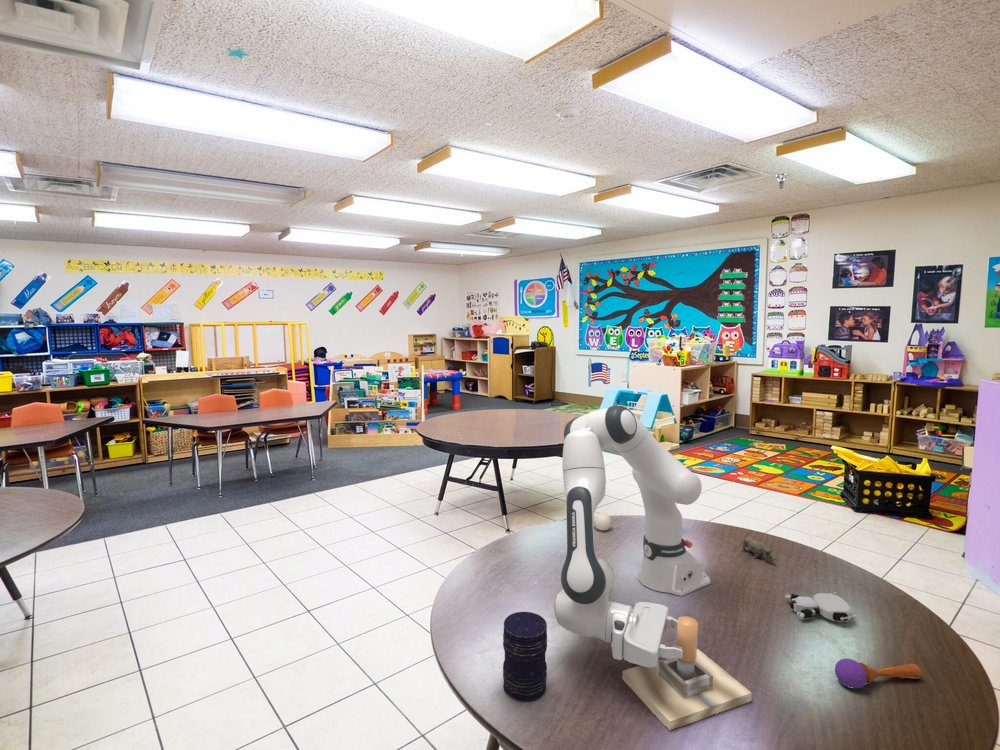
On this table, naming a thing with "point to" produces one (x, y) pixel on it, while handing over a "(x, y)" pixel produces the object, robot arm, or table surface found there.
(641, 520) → the table surface
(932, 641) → the table surface
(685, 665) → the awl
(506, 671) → the dark blue cylinder
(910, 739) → the table surface
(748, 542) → the rhino figurine
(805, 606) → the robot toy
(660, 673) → the plywood panel
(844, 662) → the purple maraca
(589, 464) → the robot arm
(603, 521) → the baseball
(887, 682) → the table surface
